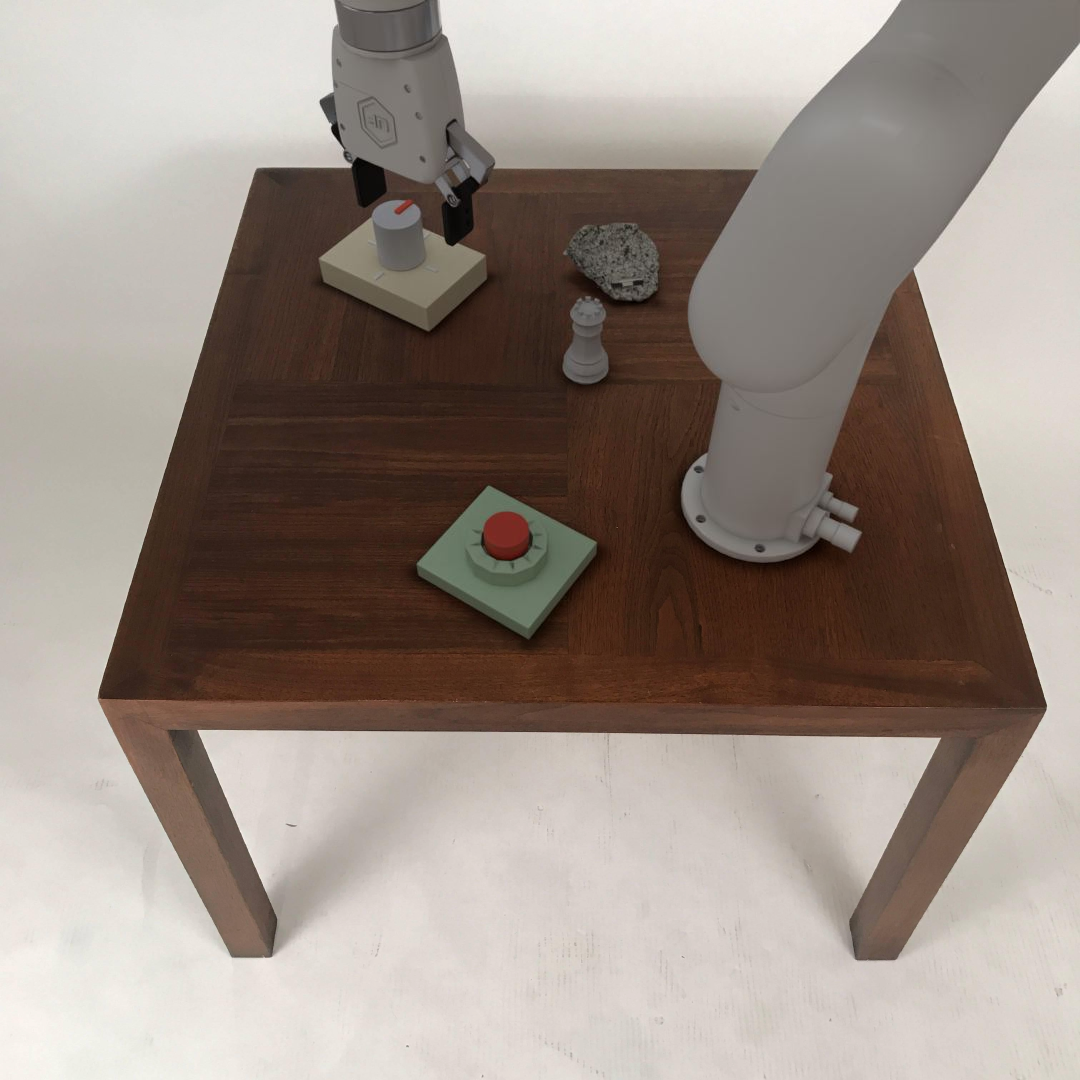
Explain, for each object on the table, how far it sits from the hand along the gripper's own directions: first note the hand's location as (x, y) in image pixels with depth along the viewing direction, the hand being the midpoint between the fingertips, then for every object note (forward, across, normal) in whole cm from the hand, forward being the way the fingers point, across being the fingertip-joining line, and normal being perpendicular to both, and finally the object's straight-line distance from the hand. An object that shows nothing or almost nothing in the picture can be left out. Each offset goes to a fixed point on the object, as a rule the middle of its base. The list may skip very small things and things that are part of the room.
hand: (415, 218), depth 85 cm
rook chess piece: (+15, +14, +6) cm, 22 cm away
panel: (+15, -9, +6) cm, 18 cm away
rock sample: (+15, +10, +20) cm, 27 cm away
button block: (+15, +22, -17) cm, 31 cm away
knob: (+12, -9, +7) cm, 16 cm away
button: (+12, +22, -17) cm, 30 cm away
